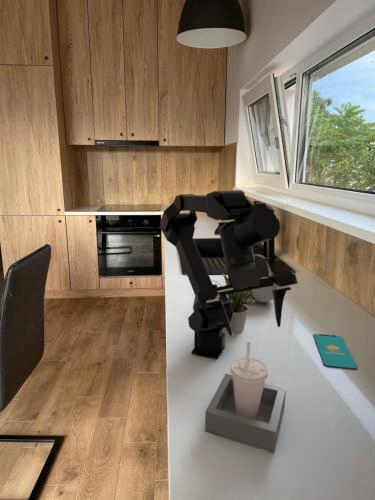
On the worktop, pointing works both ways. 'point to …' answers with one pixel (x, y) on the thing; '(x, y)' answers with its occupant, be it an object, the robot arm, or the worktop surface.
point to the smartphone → (334, 352)
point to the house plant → (238, 308)
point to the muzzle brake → (265, 292)
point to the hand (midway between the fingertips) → (254, 331)
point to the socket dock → (241, 428)
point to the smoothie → (248, 384)
